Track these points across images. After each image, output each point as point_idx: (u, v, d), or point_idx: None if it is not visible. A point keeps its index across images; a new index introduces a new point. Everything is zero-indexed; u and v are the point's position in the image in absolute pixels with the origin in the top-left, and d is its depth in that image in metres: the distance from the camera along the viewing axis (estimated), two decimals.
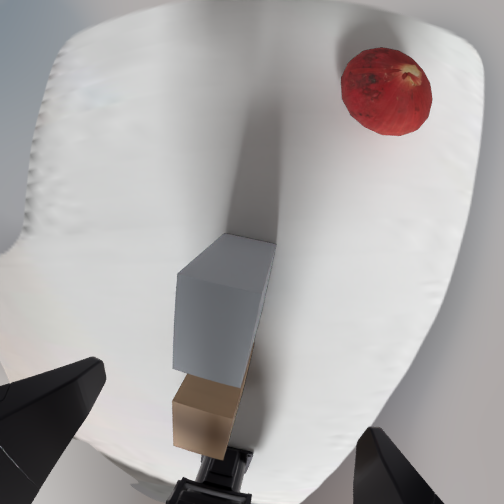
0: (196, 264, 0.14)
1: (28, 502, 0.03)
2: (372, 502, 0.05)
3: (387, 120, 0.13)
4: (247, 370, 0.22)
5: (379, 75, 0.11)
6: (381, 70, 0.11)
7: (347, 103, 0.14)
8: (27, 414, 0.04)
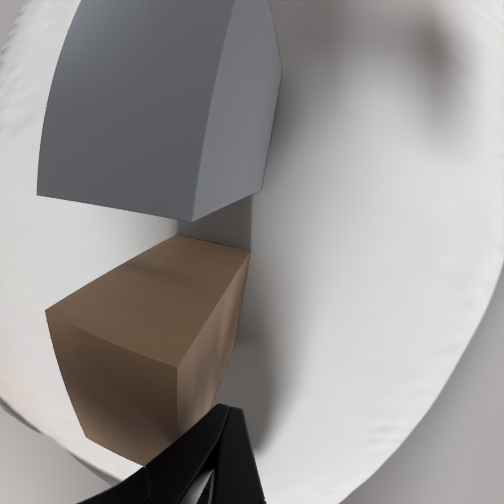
0: None
1: None
2: None
3: None
4: (236, 297, 0.12)
5: None
6: None
7: None
8: (179, 497, 0.04)
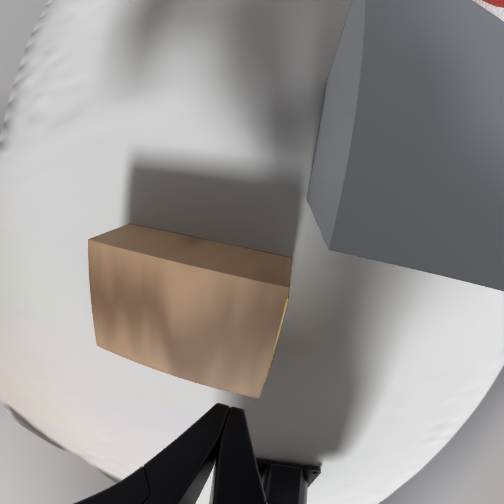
0: None
1: None
2: None
3: None
4: (228, 312, 0.11)
5: None
6: None
7: None
8: (178, 497, 0.04)
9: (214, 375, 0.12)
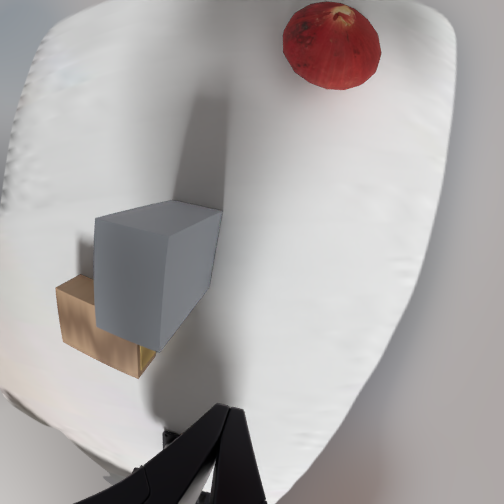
0: (120, 214, 0.13)
1: None
2: None
3: (325, 66, 0.11)
4: None
5: (311, 21, 0.10)
6: (313, 16, 0.10)
7: (287, 58, 0.13)
8: (178, 497, 0.04)
9: (115, 362, 0.21)
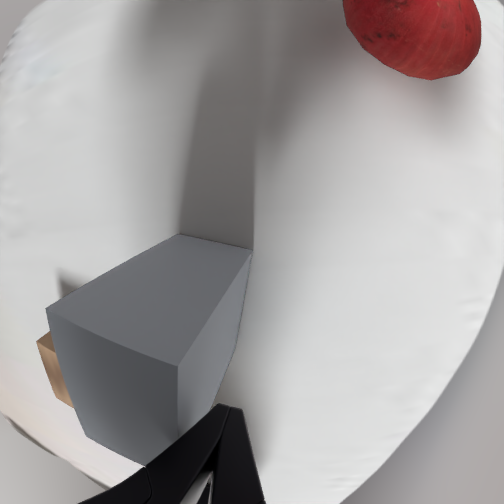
0: (90, 290, 0.07)
1: None
2: None
3: (425, 40, 0.05)
4: None
5: None
6: None
7: (356, 24, 0.07)
8: (179, 497, 0.04)
9: None
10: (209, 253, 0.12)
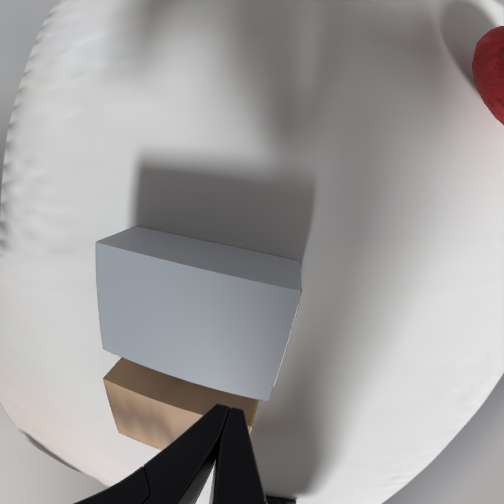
0: (161, 231, 0.14)
1: None
2: None
3: None
4: None
5: None
6: None
7: (494, 87, 0.06)
8: (178, 497, 0.04)
9: None
10: (257, 266, 0.12)
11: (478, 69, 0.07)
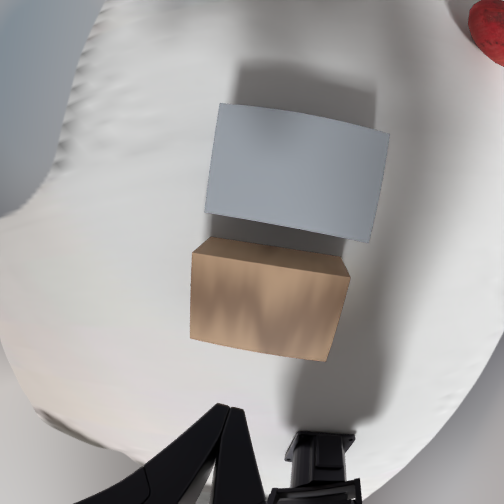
0: None
1: None
2: None
3: None
4: (308, 297, 0.15)
5: None
6: None
7: (482, 33, 0.08)
8: (178, 497, 0.04)
9: (294, 347, 0.17)
10: None
11: (472, 24, 0.09)
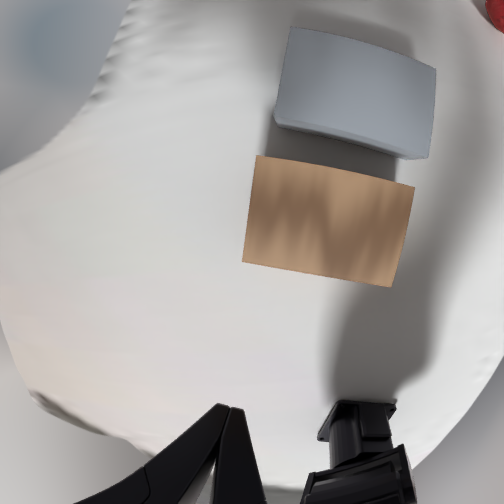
0: None
1: None
2: None
3: None
4: (377, 207, 0.14)
5: None
6: None
7: (498, 10, 0.07)
8: (178, 497, 0.04)
9: (360, 268, 0.15)
10: None
11: (489, 4, 0.08)
